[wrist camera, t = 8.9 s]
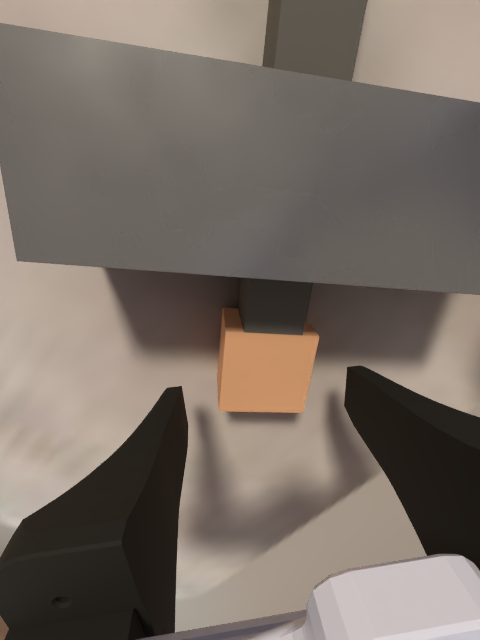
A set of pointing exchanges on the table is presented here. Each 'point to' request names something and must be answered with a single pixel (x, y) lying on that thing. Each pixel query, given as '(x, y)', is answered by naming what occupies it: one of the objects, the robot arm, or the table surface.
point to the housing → (233, 168)
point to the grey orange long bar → (278, 295)
